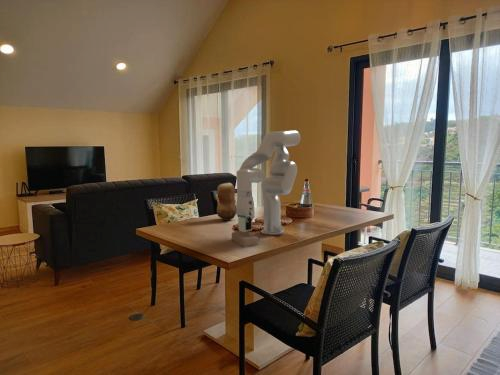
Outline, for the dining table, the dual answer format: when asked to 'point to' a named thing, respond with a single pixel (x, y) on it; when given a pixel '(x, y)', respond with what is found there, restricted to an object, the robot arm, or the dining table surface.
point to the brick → (244, 238)
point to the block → (242, 224)
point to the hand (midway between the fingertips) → (245, 228)
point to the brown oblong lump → (226, 201)
